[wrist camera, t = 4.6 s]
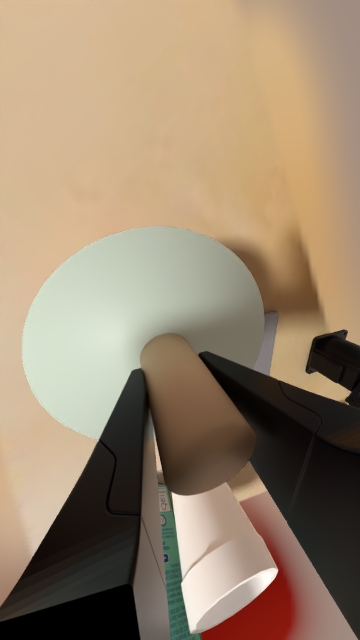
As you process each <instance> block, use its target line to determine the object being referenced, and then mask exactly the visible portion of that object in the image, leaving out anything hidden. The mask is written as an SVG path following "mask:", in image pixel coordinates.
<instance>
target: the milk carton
mask: <svg viewBox="0 0 360 640" xmlns="http://www.w3.org/2000/svg"><path fill="white" fill-rule="evenodd" d="M158 492H159V504H160V516H161V528H162V541H163V553H164V565H165V577H166V592H167V601H168V613H169V625H170V637H171V640H202V638H201V633H196V634H190V629H189V624H188V619H187V614H186V609H185V604H184V598H183V593H182V587H181V583H182V581H183V580H182V572H181V563H180V555H179V547H178V539H177V531H176V523H175V516H174V511H173V507H172V502H171V498H170V493H169V489H168V488H167V486H166V485H163V484H158Z"/></svg>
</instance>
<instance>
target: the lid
mask: <svg viewBox="0 0 360 640" xmlns="http://www.w3.org/2000/svg"><path fill="white" fill-rule="evenodd" d="M264 323H265V318H264V307H263V302H262V297H261V294H260V291H259V288H258V286H257V283H256V281H255V279H254V278H253V276H252V274H251V272H250V271H249V269H248V268H247V267H246V265H245V264H244V263H243V261H242V260H241V259H239V258H238V257H237V256H236V255H235V254H234V253H233V252H232V251H231V250H230V249H228V248H227V247H225V246H224V245H223V244H221V243H220V242H218V241H216V240H214V239H212V238H210V237H208V236H206V235H204V234H200V233H197V232H194V231H191V230H188V229H181V228H175V227H154V226H149V227H142V228H135V229H128V230H125V231H122V232H118V233H115V234H112V235H108V236H106V237H104V238H102V239H100V240H98V241H95V242H93V243H91V244H89V245H87V246H86V247H84V248H83V249H81V250H80V251H78V252H77V253H75V254H74V255H72V256H71V257H69V258H68V259H67V260H66V261H65V262H64V263H63V264H62V265H61V266H60V267H58V268H57V269H56V270H55V271H54V272H53V273H52V275H51V276H50V277H49V278H48V280H47V281H46V282H45V283H44V285H43V286H42V287H41V289H40V290H39V292H38V294H37V296H36V298H35V299H34V301H33V303H32V305H31V307H30V310H29V313H28V316H27V319H26V321H25V324H24V331H23V337H22V362H23V366H24V371H25V375H26V378H27V381H28V383H29V385H30V388H31V390H32V392H33V393H34V395H35V396H36V398H37V400H38V401H39V403H40V404H41V405H42V406H43V407H44V408H45V410H46V411H47V412H48V413H49V414H50V415H51V416H52V417H54V418H55V419H56V420H57V421H59V422H60V423H61V424H63V425H64V426H66V427H68V428H70V429H71V430H73V431H75V432H77V433H80V434H82V435H84V436H87V437H90V438H94V439H97V440H99V438H100V436H101V434H102V432H103V430H104V428H105V425H106V423H107V421H108V419H109V417H110V415H111V413H112V411H113V409H114V407H115V405H116V402H117V400H118V398H119V396H120V394H121V392H122V390H123V388H124V386H125V384H126V382H127V379H128V377H129V375H130V373H131V371H132V370H134V369H138V368H142V371H143V376H144V380H145V385H146V390H147V395H148V402H149V408H150V413H151V418H152V423H153V431H154V440H156V442H157V446H158V451H159V456H160V461H161V466H162V470H163V475H164V480H165V484H166V486H167V488H168V489H169V490H170V491H171V492H173V493H174V494H177V495H182V496H190V495H197V494H201V493H204V492H207V491H210V490H212V489H214V488H216V487H218V486H220V485H222V484H223V483H225V482H227V481H228V480H230V479H231V478H232V477H233V476H235V475H236V474H237V473H238V472H239V471H240V470H241V469H242V468H243V467H244V466H245V465H246V463H247V462H248V461H249V459H250V458H251V456H252V454H253V452H254V450H255V447H256V434H255V432H254V431H253V429H252V428H251V426H250V425H249V424H248V422H247V421H246V420H245V418H244V417H243V416H242V414H241V413H240V412H239V410H238V409H237V408H236V406H235V405H234V403H233V402H232V401H231V399H230V398H229V397H228V395H227V394H226V393H225V391H224V390H223V389H222V387H221V386H220V385H219V383H218V382H217V381H216V379H215V378H214V376H213V375H212V374H211V372H210V371H209V370H208V368H207V367H206V366H205V364H204V363H203V362H202V360H201V359H200V358H199V356H198V354H199V353H200V352H204V351H208V352H211V353H213V354H216V355H218V356H221V357H223V358H226V359H228V360H231V361H233V362H236V363H238V364H241V365H243V366H246V367H248V368H250V369H253V367H254V365H255V363H256V360H257V358H258V355H259V352H260V349H261V345H262V341H263V335H264Z"/></svg>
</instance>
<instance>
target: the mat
mask: <svg viewBox="0 0 360 640" xmlns="http://www.w3.org/2000/svg"><path fill="white" fill-rule="evenodd" d="M264 318H265V323H264V335H263V341H262V345H261V349H260V352H259V355H258V358H257V360H256V363H255V365H254V367H253V370H255V371H258V372H260V373H263V374H265V375H268V376H269V373H270V367H271V360H272V353H273V347H274V340H275V333H276V326H277V320H278V312H276V311H272V312H268V313H264Z"/></svg>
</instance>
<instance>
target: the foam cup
mask: <svg viewBox="0 0 360 640" xmlns="http://www.w3.org/2000/svg"><path fill="white" fill-rule="evenodd" d="M172 499H173V507H174V515H175V523H176V531H177V539H178V547H179V555H180V563H181V572H182V580H183V581H182V583H181V587H182V593H183V598H184V604H185V609H186V614H187V619H188V624H189V629H190V634H196V633H201V632H203V631H205V630H208V629H210V628H212V627H214V626H216V625H218V624H219V623H221V622H222V621H224V620H225V619H227V618H229V617H230V616H232V615H234V614H235V613H236V612H238V611H239V610H240V609H242V608H243V607H244V606H246V605H247V604H248V603H250V602H251V601H252V600H253V599H254V598H256V597H257V596H258V595H259V594H260V593H261V592H262V591H263V590H265V589H266V587H267V586H268V585H269V584H270V583H271V582H272V581H273V579H274V578H275V577H276V574H277V572H278V568H277V566H276V564H275V562H274V560H273V558H272V556H271V555H270V553H269V551H268V549H267V547H266V545H265V543H264V541H263V539H262V537H261V536H260V535H258V534H257V532H256V530H255V529H254V527H253V525H252V524H251V522H250V520H249V519H248V517H247V515H246V514H245V512H244V510H243V509H242V507H241V505H240V504H239V502H238V500H237V499H236V497H235V495H234V494H233V492H232V490H231V489H230V487H229V485H228V484H227V482H225V483H223V484H222V485H220V486H218V487H216V488H214V489H212V490H210V491H207V492H204V493H201V494H197V495H190V496H182V495H177V494H174V493H173V492H172Z"/></svg>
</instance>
